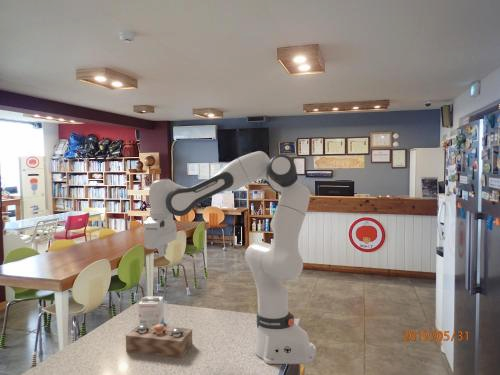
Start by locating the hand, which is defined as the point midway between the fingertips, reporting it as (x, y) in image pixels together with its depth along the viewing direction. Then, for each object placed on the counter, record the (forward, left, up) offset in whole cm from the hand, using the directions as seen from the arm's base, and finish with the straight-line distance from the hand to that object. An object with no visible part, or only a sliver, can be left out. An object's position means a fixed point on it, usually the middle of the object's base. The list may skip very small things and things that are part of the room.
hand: (162, 255), depth 143 cm
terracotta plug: (-2, +8, -31) cm, 32 cm away
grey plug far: (+5, +8, -32) cm, 33 cm away
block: (-2, +8, -33) cm, 34 cm away
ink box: (+10, -8, -33) cm, 36 cm away
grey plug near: (-9, +8, -32) cm, 34 cm away
